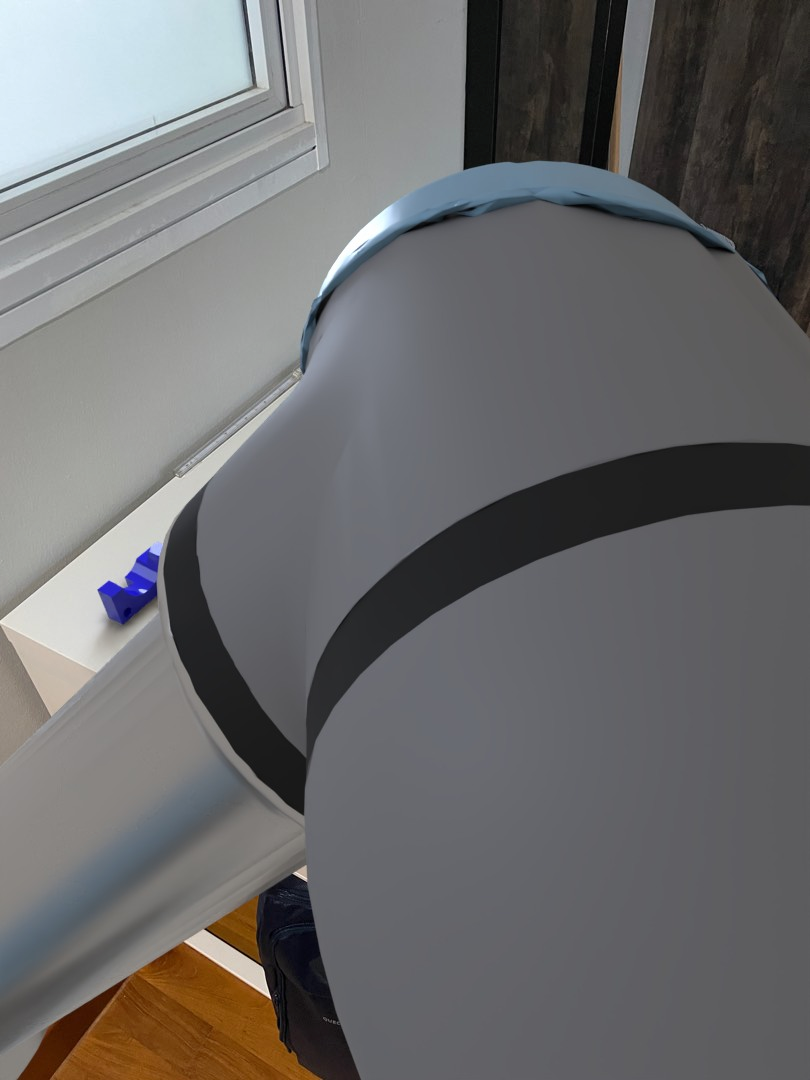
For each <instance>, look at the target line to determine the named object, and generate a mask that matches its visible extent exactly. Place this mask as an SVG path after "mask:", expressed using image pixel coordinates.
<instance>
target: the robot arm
mask: <svg viewBox="0 0 810 1080" xmlns="http://www.w3.org/2000/svg"><path fill="white" fill-rule="evenodd" d="M299 347H300V351H299V352H300V353H299V355H300V356H299V357H300V359H299V360H300V362H299V363H300V364H299V365H300V372H301V373H302V376H301V378H300V380H299V381H298V382H297V384H296V385H295V386H294V387H293V389H292V390H291V392H290V393H289V394H288V395H287V396H286V397H285V398H284V400H283V401H282V402H281V403H280V404H278V406H277V407H276V408H275V409H274V410H273V412H271V414H269V415H268V416H267V418H266V419H265V420H264V421H263V422H262V423H261V424H259V426H258V428H256V429H255V431H253V432H252V433H251V434H250V436H249V437H248V438H247V439H246V440H245V441H244V442H243V443H242V444H241V445H240V446H239V447H238V448H237V449H236V451H234V453H233V454H232V455H231V456H230V457H229V458H228V459H227V460H226V461H225V462H224V463H223V464H222V465H221V466H220V468H219V469H218V470H217V471H216V472H215V474H213V476H212V477H211V478H210V479H208V480H207V482H206V483H205V484H204V485H203V486H202V487H201V488H199V490H198V491H197V492H196V493H195V495H193V497H191V499H190V500H189V501H188V502H187V503H186V504H185V505H184V506H183V507H182V509H181V510H180V511H179V512H178V513H177V515H176V516H175V517H174V518H173V521H172V522H171V524H170V525H169V528H168V529H167V532H166V533H165V536H164V539H163V543H162V544H163V546H162V549H161V552H160V556H159V565H158V574H157V607H158V608H157V609H158V613H157V614H156V615H155V616H153V617H152V619H151V620H150V621H148V623H147V624H146V625H145V626H143V628H141V629H140V630H139V631H138V633H136V634H135V635H134V636H133V637H132V638H131V639H130V640H129V641H128V642H127V643H126V644H125V645H124V646H123V647H122V648H121V649H120V650H119V651H118V652H117V653H116V654H114V655H113V657H111V658H110V659H109V660H108V661H107V662H106V663H105V664H104V665H103V666H102V667H101V668H100V669H99V670H98V671H97V672H96V673H95V674H94V675H92V677H91V678H90V679H89V680H88V681H86V683H85V684H84V685H83V686H81V687H80V688H79V689H78V690H77V691H76V692H75V693H74V694H73V696H71V697H70V698H69V699H67V701H66V702H65V703H64V704H63V705H62V706H61V707H60V708H59V709H57V711H56V712H54V714H53V715H52V716H51V717H50V718H48V720H47V721H46V722H45V723H44V724H42V726H40V728H39V729H37V730H36V731H35V732H34V733H33V734H32V735H31V736H30V737H29V738H28V739H27V740H26V741H25V742H24V743H23V744H22V745H21V746H20V747H18V749H17V750H16V751H15V752H13V754H11V755H10V756H9V757H8V758H7V759H6V760H5V761H4V762H3V763H2V764H1V765H0V1080H18V1079H19V1078H20V1076H21V1074H22V1073H23V1072H24V1071H25V1070H26V1068H27V1066H28V1065H29V1064H30V1062H31V1061H32V1059H33V1057H34V1056H35V1054H36V1053H37V1051H38V1050H39V1047H40V1046H41V1043H42V1041H43V1039H44V1037H45V1034H46V1032H47V1030H48V1027H49V1026H51V1025H53V1024H54V1023H56V1022H57V1021H59V1020H61V1019H62V1018H64V1017H66V1016H67V1015H69V1014H71V1013H72V1012H74V1011H76V1010H77V1009H79V1008H80V1007H82V1006H83V1005H84V1004H86V1003H88V1002H90V1001H92V1000H93V999H94V998H96V997H98V996H99V995H101V994H102V993H104V992H106V991H107V990H109V989H110V988H112V987H114V986H115V985H117V984H118V983H121V982H122V981H123V980H125V979H127V978H128V977H130V976H131V975H133V974H134V973H136V972H138V971H139V970H141V969H143V968H144V967H146V966H148V965H149V964H151V963H152V962H154V961H155V960H157V959H158V958H160V957H161V956H164V955H165V954H167V953H168V952H170V951H172V949H174V948H176V947H178V946H179V945H180V944H182V943H184V942H186V941H187V940H188V939H190V938H192V937H194V936H195V935H197V934H198V933H200V932H201V931H203V930H204V929H206V928H208V927H209V926H211V925H213V924H215V923H216V922H217V921H219V920H221V919H222V918H224V917H226V916H227V915H228V914H230V913H232V912H233V911H236V910H237V909H239V908H240V907H241V906H243V905H245V904H246V903H248V902H249V901H251V900H253V899H254V898H256V897H258V896H259V895H260V894H263V893H264V892H266V891H267V890H269V889H271V888H272V887H274V886H275V885H277V884H278V883H280V882H281V881H283V880H285V879H286V878H288V877H289V876H291V875H293V874H294V873H296V872H297V871H299V870H301V869H302V868H304V867H305V866H306V885H307V889H308V894H309V900H310V905H311V906H310V907H311V910H312V916H313V921H314V926H315V932H316V938H317V942H318V948H319V952H320V957H321V961H322V964H323V967H324V972H325V975H326V979H327V983H328V987H329V991H330V994H331V999H332V1002H333V1006H334V1009H335V1013H336V1015H337V1019H338V1022H339V1024H340V1027H341V1029H342V1032H343V1035H344V1037H345V1041H346V1043H347V1045H348V1048H349V1051H350V1054H351V1056H352V1059H353V1063H354V1064H355V1068H356V1070H357V1073H358V1075H359V1079H360V1080H810V337H809V336H808V335H807V334H806V333H805V331H804V330H803V329H802V328H801V327H800V325H798V323H797V322H796V321H795V319H794V318H793V317H792V316H791V315H790V314H789V313H788V311H787V310H786V309H785V308H784V306H783V305H782V304H781V303H780V301H779V300H778V298H777V297H776V296H775V294H774V292H773V291H772V289H771V288H770V286H769V284H768V282H767V279H766V276H765V274H764V273H763V272H762V271H760V270H759V269H758V268H756V267H755V266H753V265H752V264H751V263H750V262H748V261H746V260H745V259H744V258H743V257H742V256H741V255H740V253H739V252H738V251H737V250H736V249H735V248H734V247H733V246H732V244H730V243H729V242H728V240H727V239H725V237H723V235H720V234H719V233H717V232H715V231H714V230H712V229H710V228H709V229H708V228H704V227H702V226H701V225H700V224H699V223H697V222H696V221H695V220H694V219H693V218H691V217H689V216H688V215H687V214H686V213H685V212H684V211H683V210H682V209H680V207H678V206H677V205H676V204H674V202H671V201H670V200H668V199H667V198H666V197H664V196H663V195H661V194H660V193H658V192H657V191H655V190H653V189H651V188H650V187H648V186H646V185H645V184H642V183H640V182H638V181H636V180H634V179H631V178H629V177H627V176H625V175H621V174H619V173H615V172H613V171H610V170H607V169H603V168H598V167H594V166H591V165H585V164H580V163H574V162H568V161H549V160H534V161H526V162H512V161H502V162H496V163H490V164H489V163H488V164H485V165H479V166H475V167H471V168H468V169H467V168H466V169H463V170H461V171H458V172H455V173H452V174H449V175H446V176H444V177H442V178H439V179H436V180H434V181H432V182H429V183H427V184H425V185H423V186H420V187H418V188H416V189H414V190H413V191H411V192H409V193H408V194H406V195H404V196H403V197H400V198H399V199H397V200H396V201H395V202H393V203H392V204H390V205H389V206H388V207H386V208H384V209H383V210H382V211H381V212H380V213H378V215H376V216H375V217H374V218H373V219H372V220H370V221H369V222H368V223H367V224H366V225H364V227H362V228H361V229H360V230H359V232H358V233H357V234H356V235H355V236H354V237H353V238H352V239H351V240H350V241H349V242H348V243H347V245H346V246H345V248H344V249H343V250H342V252H341V253H340V254H339V256H338V257H337V259H336V260H335V262H333V265H332V266H331V268H330V270H329V271H328V273H327V275H326V277H325V279H324V281H323V283H322V285H321V288H320V290H319V292H318V295H317V297H316V298H315V299H313V301H312V303H311V306H310V311H309V314H308V316H307V319H306V321H305V324H304V326H303V330H302V334H301V339H300V346H299Z"/></svg>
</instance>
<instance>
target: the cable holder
mask: <svg viewBox="0 0 810 1080" xmlns="http://www.w3.org/2000/svg"><path fill="white" fill-rule="evenodd" d="M162 546H163V543H162V542H159V541H156V542H155V543H154V544H152V545H151V546H149V548H147V549H146V550H145V551H144V552H142V553H141V554H140V555H139V556H137V557H136V558H135V561H134V564H133V566H132V568H131V569H130V570H129V572H128V573H127V574H126V575H125V576H124V579H125V582H126V584H127V586H126V587H123V586H120V585H118V584H117V583H115V582H113V581H111V580H107V581H106V582H105V583H104V584H101V586H100V587H99V588H97V590H96V591H97V593H98V596H99V597H100V600H101V602H102V605H103V608H104V609H105V612H106V615H107V616H108V618H109V619H111V620H112V621H114V622H116V623H118V624H120V625H121V626H124V625H125V624H126V623H127V622H129V620H131V619H132V618H133V617H134V616H135V615H137V614H138V613H139V612H140V611H142V609H144V608H145V607H146V606H147V605H148V604H149V603H151V602H152V601H153V600H154V599H155V598H157V597H158V595H157V574H158V565H159V556H160V552H161V549H162Z"/></svg>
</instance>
